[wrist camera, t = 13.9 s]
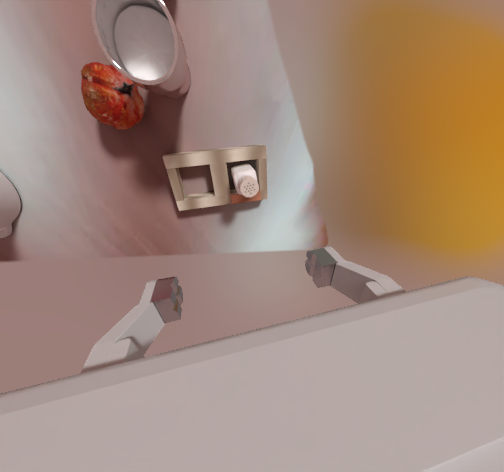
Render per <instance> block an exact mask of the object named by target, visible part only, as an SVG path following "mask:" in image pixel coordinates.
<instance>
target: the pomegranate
mask: <svg viewBox="0 0 504 472" xmlns="http://www.w3.org/2000/svg"><path fill="white" fill-rule="evenodd" d="M81 74H82V86H81V90H82V95H83V99H84V103H85V106H86V108H87V110H88V111H89V112H90V113H91V114H92V115H93V116H94V117H95V118H96V119H97V120H98V121H99V122H101V123H103V124H106V125H110V126H113V127H114V128H115V129H129V128H131V127H133V126H134V125H135V124H138V123H140V121H141V119H142V117H143V114H144V109H145V107H144V101H143V98H142V96H141V95H140V94H139V93H138V88H137V85H136V84H135V83H134V82H133V81H131V80H130V79H129V78H127V77H126V76H124V75H123V74H122V73H120V72H119V71H118V70H117V69H116V68H115V67H114V66H113V65H110V66H107V65H103V64H100V63H96V62H94V63H89V64H87V65H85V66H84V67H83V69H82V71H81Z"/></svg>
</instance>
